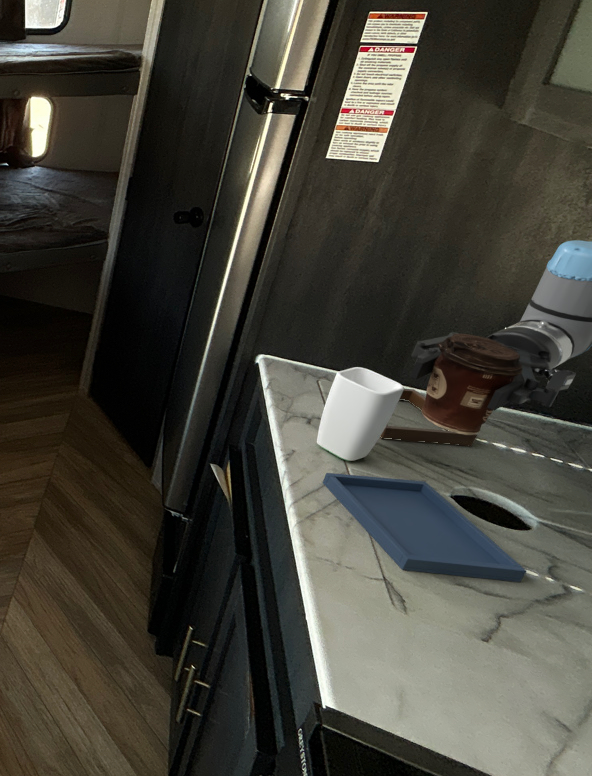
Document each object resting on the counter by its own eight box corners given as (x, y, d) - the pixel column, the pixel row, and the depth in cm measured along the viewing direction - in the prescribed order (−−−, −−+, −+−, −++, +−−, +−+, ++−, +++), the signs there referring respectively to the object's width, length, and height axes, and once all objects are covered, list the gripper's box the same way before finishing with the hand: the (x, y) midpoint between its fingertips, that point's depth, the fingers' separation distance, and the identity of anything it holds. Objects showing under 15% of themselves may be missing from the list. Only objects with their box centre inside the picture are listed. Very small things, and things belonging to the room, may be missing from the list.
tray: (520, 582, 86) (527, 571, 85) (402, 570, 88) (407, 558, 87) (420, 491, 102) (425, 481, 101) (322, 482, 104) (326, 472, 103)
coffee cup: (404, 419, 94) (437, 343, 89) (412, 398, 99) (443, 324, 94) (488, 447, 88) (528, 367, 83) (491, 423, 93) (530, 346, 88)
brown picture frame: (471, 446, 113) (477, 435, 112) (381, 439, 115) (386, 428, 114) (409, 399, 126) (414, 389, 125) (329, 393, 128) (333, 383, 127)
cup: (331, 434, 116) (359, 365, 110) (377, 459, 109) (409, 387, 104) (304, 443, 113) (332, 372, 108) (349, 468, 107) (381, 395, 101)
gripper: (447, 302, 105) (375, 329, 95) (640, 360, 87) (574, 401, 78) (430, 341, 107) (358, 372, 98) (613, 405, 90) (546, 449, 81)
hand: (454, 384), depth 88 cm, fingers closed on coffee cup, 8 cm apart
